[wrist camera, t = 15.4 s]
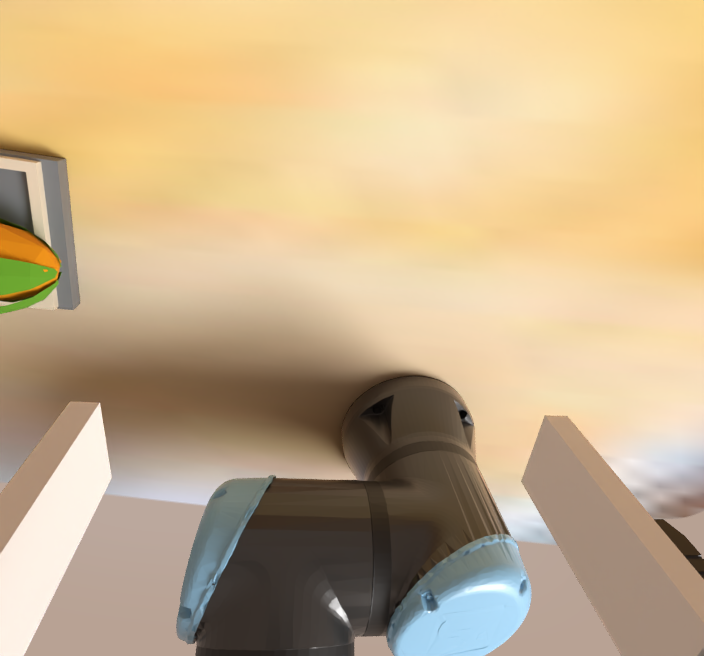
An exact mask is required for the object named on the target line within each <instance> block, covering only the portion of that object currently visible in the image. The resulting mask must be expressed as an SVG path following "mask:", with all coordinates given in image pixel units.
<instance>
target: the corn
mask: <svg viewBox="0 0 704 656" xmlns="http://www.w3.org/2000/svg"><path fill="white" fill-rule="evenodd" d="M60 267H62V266H61V260H60V259H59V257H58V255H57V253H56V252H55V251H54V250H53V248H51V247H50V246H49V245H48V244H47V243H46V242H45V241H44V240H42V239H41V238H39V237H38V236H36V235H35V234H33V233H32V232H30V231H29V230H27V229H26V228H24V227H22V226H19V225H17V224H14V223H12V222H9V221H6V220H4V219H1V218H0V301H4V302H12V303H13V302H16V303H13V304H10V305H7V306H0V314H2V313H6V312H11V311H15V310H19V309H23V308H27V307H29V306H31V305H34V304H36V303H38V302H40V301H42V300H44V299H46V297H47V296H48V295H49V294H50V293H51V292H52V291H53V290H54V289H55V288H56V286H57V285H58V284H59V282H58V280H59V279H60V276H61V274H62V272H59V270H60ZM17 301H19V302H17Z"/></svg>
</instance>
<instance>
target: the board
mask: <svg viewBox="0 0 704 656" xmlns="http://www.w3.org/2000/svg"><path fill="white" fill-rule="evenodd" d="M0 218H1V219H4V220H6V221H9V222H12V223H14V224H17V225H19V226H22V227H24V228H26V229H27V230H29V231H30V232H32V233H33V234H35V235H36V236H38V237H39V238H41V239H42V240H44V241H45V242H46V243H47V244H48V245H49V246H50V247H51V248H53V250H54V251H55V252H56V253H57V255H58V257H59V259H60V260H61V266H62V267H60V270H59V272H62V274H61V276H60V279H59V280H58V282H59V284H58V285H57V286H56V288H55V289H54V290H53V291H52V292H51V293H50V294H49V295H48V296H47V297H46V299H44V300H42V301H40V302H38V303H36V304H34V305H31V306H29V307H27V308H37V309H47V310H55V309H56V308H58V309H68V310H74V309H75V308H76V307H77V306H78V305H79V304H80V297H79V287H78V277H77V266H76V256H75V246H74V236H73V226H72V216H71V206H70V196H69V185H68V175H67V165H66V159H63V158H57V157H50V156H44V155H37V154H31V153H24V152H18V151H11V150H5V149H0ZM17 302H19V301H17ZM13 303H16V302H13ZM13 303H12V302H4V301H0V305H10V304H13Z"/></svg>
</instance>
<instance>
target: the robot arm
mask: <svg viewBox="0 0 704 656" xmlns="http://www.w3.org/2000/svg"><path fill="white" fill-rule="evenodd" d="M342 444H343V452H344V456H345V459H346V462H347V464H348V466H349V468H350V469H351V471H352V472H353V474H354V476H355V477H356V479H357V480H319V479H288V478H276V476H274V475H270V476H269V477H268V478H243V479H232V480H228V481H226V482H224V483H223V484H222V485H220V486H219V487H218V488H217V489H216V491H215V492H214V493H213V495H212V496H211V498H210V500H209V502H208V504H207V506H206V509H205V511H204V514H203V516H202V519H201V522H200V525H199V528H198V531H197V534H196V537H195V540H194V543H193V547H192V550H191V554H190V558H189V561H188V566H187V569H186V574H185V577H184V582H183V586H182V592H181V597H180V602H181V603H180V608H179V613H178V617H177V625H176V628H177V635H178V638H179V639H181V640H183V641H186V643H187V644H194V643H195V641H196V642H197V648H196V656H354V639H355V637H358V636H386V638H387V642H388V647H389V648H390V650H391V651H392V653H393V655H394V656H484V655H486V654H488V653H489V652H491V651H492V650H494V649H495V648H497V647H498V646H500V645H501V644H502V643H504V642H505V641H506V640H507V639H508V638H509V637H510V636H512V634H514V632H515V631H516V630H517V629H518V627H519V626H520V625H521V623H522V622H523V620H524V619H525V616H526V615H527V612H528V610H529V607H530V602H531V585H530V581H529V578H528V575H527V573H526V570H525V567H524V565H523V562H522V559H521V557H520V554H519V549H518V545H517V543H516V541H515V540H514V539H513V537H511V535H510V532H509V530H508V528H507V526H506V524H505V522H504V520H503V518H502V516H501V514H500V512H499V510H498V507H497V505H496V503H495V501H494V499H493V497H492V495H491V493H490V491H489V489H488V487H487V485H486V482H485V480H484V478H483V476H482V474H481V472H480V470H479V468H478V466H477V464H476V455H475V428H474V423H473V419H472V416H471V414H470V412H469V410H468V408H467V406H466V404H465V402H464V400H463V399H462V397H461V396H460V395H459V394H458V393H457V392H456V391H455V390H454V389H453V388H452V387H450V386H449V385H447V384H445V383H443V382H441V381H438V380H435V379H432V378H427V377H420V376H408V377H400V378H395V379H391V380H388V381H385V382H383V383H380V384H378V385H376V386H374V387H373V388H371V389H369V390H368V391H366V392H365V393H364V394H363V395H361V396H360V397H359V398H358V399H357V400H356V401H355V402H354V404H353V405H352V406H351V408H350V409H349V411H348V412H347V414H346V417H345V419H344V422H343V426H342ZM111 478H112V476H111V470H110V464H109V457H108V451H107V444H106V438H105V431H104V425H103V419H102V412H101V406H100V402H72V401H70V402H69V404H68V405H67V406H66V407H65V409H64V410H63V411H62V413H61V414H60V415H59V417H58V418H57V419H56V421H55V422H54V423H53V425H52V426H51V427H50V429H49V430H48V431H47V433H46V434H45V435H44V437H43V438H42V439H41V441H40V442H39V443H38V445H37V446H36V447H35V448H34V450H33V451H32V452H31V454H30V455H29V456H28V458H27V459H26V460H25V462H24V463H23V464H22V466H21V467H20V468H19V470H18V471H17V472H16V474H15V475H14V476H13V478H12V479H11V480H10V482H9V483H8V484H7V486H6V487H5V488H4V489H3V491H2V492H1V494H0V656H24V654H25V652H26V650H27V648H28V646H29V644H30V642H31V640H32V638H33V636H34V634H35V632H36V630H37V628H38V625H39V624H40V622H41V620H42V618H43V616H44V614H45V612H46V609H47V608H48V605H49V603H50V601H51V599H52V597H53V595H54V593H55V591H56V589H57V587H58V585H59V583H60V581H61V579H62V577H63V575H64V573H65V571H66V569H67V567H68V565H69V563H70V561H71V559H72V557H73V555H74V553H75V551H76V549H77V547H78V545H79V543H80V541H81V539H82V537H83V535H84V533H85V531H86V529H87V527H88V525H89V522H90V521H91V518H92V516H93V515H94V512H95V511H96V509H97V507H98V505H99V502H100V500H101V498H102V496H103V494H104V492H105V490H106V488H107V486H108V484H109V482H110V480H111ZM521 482H522V484H523V485H524V487H525V489H526V490H527V492H528V494H529V496H530V497H531V499H532V501H533V503H534V504H535V506H536V508H537V510H538V511H539V513H540V515H541V517H542V518H543V520H544V522H545V524H546V525H547V527H548V529H549V531H550V532H551V534H552V536H553V538H554V539H555V541H556V543H557V544H558V546H559V548H560V549H561V551H562V553H563V555H564V557H565V558H566V560H567V562H568V564H569V565H570V567H571V569H572V571H573V572H574V574H575V576H576V578H577V579H578V581H579V583H580V585H581V586H582V588H583V590H584V592H585V593H586V595H587V597H588V598H589V600H590V602H591V604H592V605H593V607H594V609H595V610H596V612H597V614H598V616H599V618H600V619H601V621H602V623H603V625H604V626H605V628H606V630H607V632H608V633H609V635H610V637H611V639H612V640H613V642H614V644H615V646H616V647H617V649H618V651H619V652H620V654H621V656H704V559H702V557H701V554H700V553H699V552H698V551H697V550H696V548H695V547H694V546H693V545H692V544H691V543H690V542H689V540H688V539H687V538H686V537H685V536H684V535H683V534H681V533H680V532H679V531H678V530H676V529H675V528H674V527H672V526H671V525H670V524H668V523H667V522H666V521H665V520H663V519H653V518H652V517H651V516H650V514H649V513H648V512H647V511H646V510H645V508H644V507H643V506H642V505H641V504H640V503H639V501H638V500H637V499H636V498H635V497H634V495H633V494H632V493H631V492H630V491H629V489H628V488H627V487H626V486H625V485H624V483H623V482H622V481H621V480H620V479H619V477H618V476H617V475H616V474H615V473H614V471H613V470H612V469H611V468H610V467H609V465H608V464H607V463H606V462H605V461H604V459H603V458H602V457H601V456H600V455H599V453H598V452H597V451H596V450H595V449H594V447H593V446H592V445H591V444H590V443H589V441H588V440H587V439H586V438H585V437H584V435H583V434H582V433H581V432H580V431H579V430H578V428H577V427H576V426H575V425H574V424H573V422H572V421H571V420H570V419H569V418H568V416H544V419H543V422H542V425H541V428H540V430H539V433H538V436H537V439H536V442H535V444H534V447H533V450H532V453H531V456H530V458H529V461H528V464H527V467H526V469H525V472H524V475H523V478H522V481H521Z"/></svg>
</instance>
